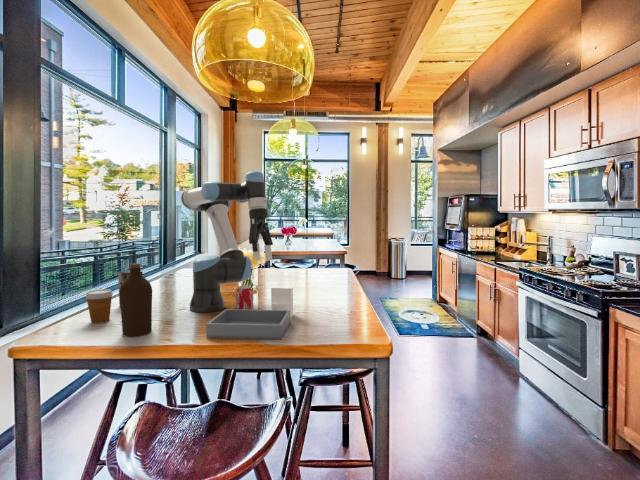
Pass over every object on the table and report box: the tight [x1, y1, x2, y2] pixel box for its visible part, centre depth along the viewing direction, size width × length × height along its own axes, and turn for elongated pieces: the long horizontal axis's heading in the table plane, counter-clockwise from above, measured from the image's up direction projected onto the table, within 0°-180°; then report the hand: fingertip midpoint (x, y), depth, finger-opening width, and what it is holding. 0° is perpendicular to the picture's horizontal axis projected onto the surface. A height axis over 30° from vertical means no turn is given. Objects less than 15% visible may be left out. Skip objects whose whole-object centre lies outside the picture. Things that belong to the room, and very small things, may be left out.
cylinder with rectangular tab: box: [270, 286, 294, 319], centre depth 156 cm, size 9×9×12 cm
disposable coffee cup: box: [84, 288, 114, 324], centre depth 148 cm, size 10×10×12 cm
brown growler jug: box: [118, 262, 153, 338], centre depth 133 cm, size 11×11×25 cm
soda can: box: [235, 285, 254, 310], centre depth 157 cm, size 7×7×12 cm
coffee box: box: [117, 270, 144, 305], centre depth 173 cm, size 9×6×16 cm
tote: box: [205, 308, 291, 341], centre depth 137 cm, size 26×20×5 cm
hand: (263, 260), depth 152 cm, fingers open, 13 cm apart
